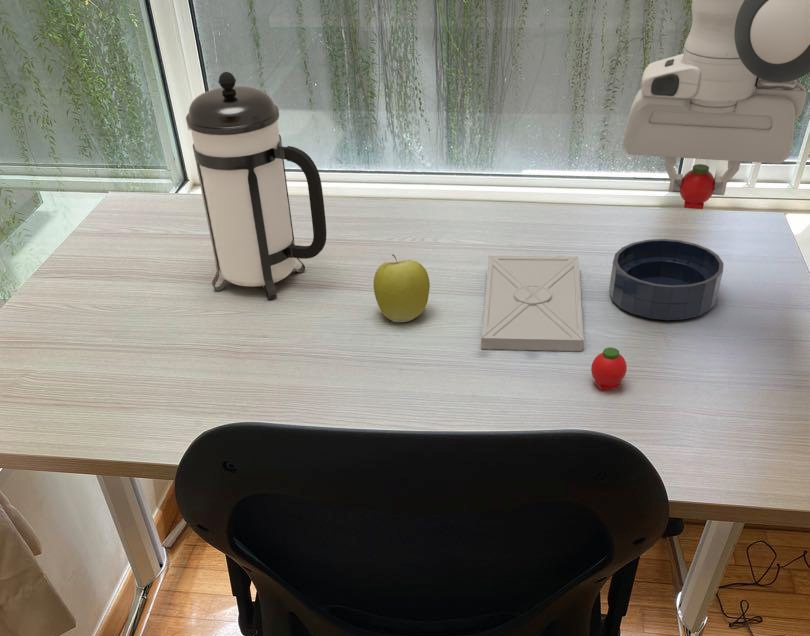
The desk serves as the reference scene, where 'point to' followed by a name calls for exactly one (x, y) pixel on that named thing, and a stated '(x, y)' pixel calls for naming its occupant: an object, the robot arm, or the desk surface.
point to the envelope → (533, 304)
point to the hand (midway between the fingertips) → (695, 191)
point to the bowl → (665, 279)
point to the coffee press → (250, 186)
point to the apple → (401, 289)
